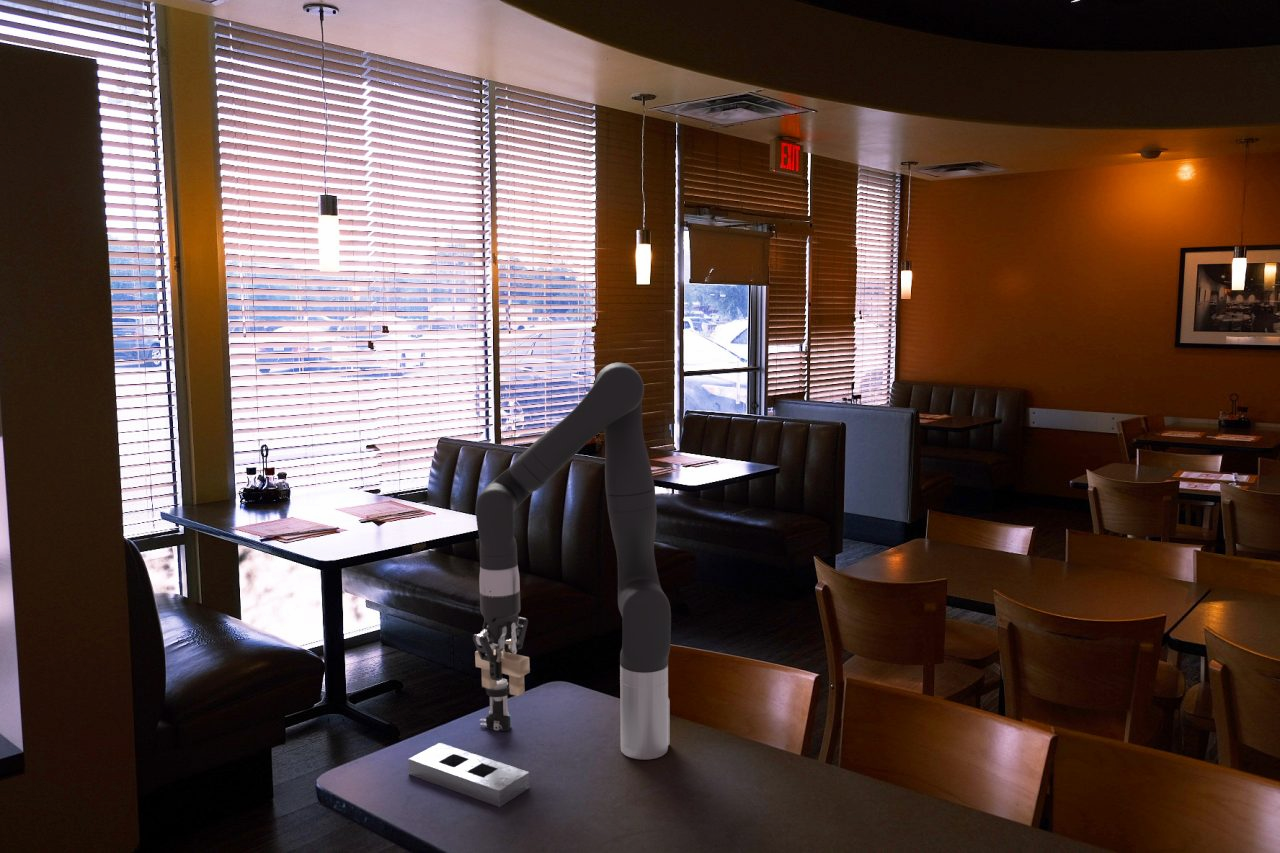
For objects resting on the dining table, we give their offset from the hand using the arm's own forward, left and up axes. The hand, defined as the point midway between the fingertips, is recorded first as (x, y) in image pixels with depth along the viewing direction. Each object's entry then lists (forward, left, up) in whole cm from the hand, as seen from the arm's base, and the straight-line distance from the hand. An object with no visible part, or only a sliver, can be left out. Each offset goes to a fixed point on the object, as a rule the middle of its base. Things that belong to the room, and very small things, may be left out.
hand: (502, 676), depth 185 cm
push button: (-8, -9, -16) cm, 20 cm away
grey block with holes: (+12, +2, -15) cm, 20 cm away
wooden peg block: (0, 0, -3) cm, 3 cm away
